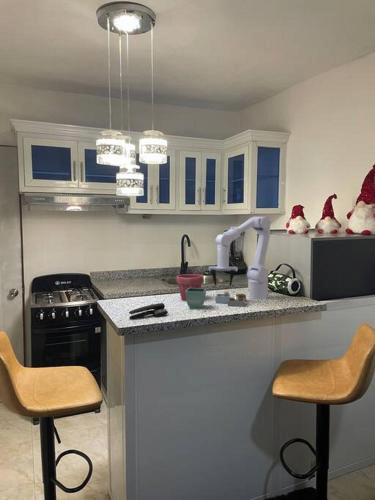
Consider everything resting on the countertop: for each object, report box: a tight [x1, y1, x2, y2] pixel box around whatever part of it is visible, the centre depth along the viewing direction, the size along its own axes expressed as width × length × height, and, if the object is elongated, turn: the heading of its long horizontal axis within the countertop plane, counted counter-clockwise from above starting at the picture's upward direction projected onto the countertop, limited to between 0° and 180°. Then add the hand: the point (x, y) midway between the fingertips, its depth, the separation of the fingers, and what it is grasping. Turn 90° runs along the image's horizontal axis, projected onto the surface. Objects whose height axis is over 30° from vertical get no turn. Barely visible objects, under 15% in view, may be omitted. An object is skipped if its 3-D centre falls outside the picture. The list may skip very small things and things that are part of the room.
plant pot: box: [176, 273, 204, 302], centre depth 208 cm, size 14×14×13 cm
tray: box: [227, 297, 246, 308], centre depth 194 cm, size 8×8×3 cm
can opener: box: [128, 302, 169, 320], centre depth 173 cm, size 18×7×6 cm, turn 120°
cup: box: [215, 293, 231, 305], centre depth 200 cm, size 7×7×4 cm
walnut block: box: [235, 293, 247, 303], centre depth 202 cm, size 4×4×4 cm
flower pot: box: [185, 287, 207, 310], centre depth 189 cm, size 9×9×9 cm
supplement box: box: [247, 265, 269, 294], centre depth 229 cm, size 9×9×15 cm
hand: (223, 284), depth 199 cm, fingers open, 7 cm apart
